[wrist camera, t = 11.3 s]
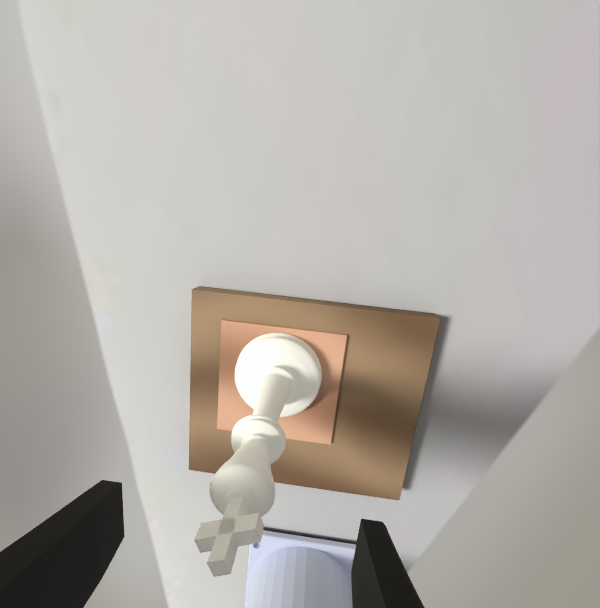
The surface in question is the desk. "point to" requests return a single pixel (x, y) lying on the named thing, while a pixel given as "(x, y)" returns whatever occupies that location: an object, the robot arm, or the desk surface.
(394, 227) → the desk surface
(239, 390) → the chess piece
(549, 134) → the desk surface
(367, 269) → the desk surface
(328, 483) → the walnut board
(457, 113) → the desk surface
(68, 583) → the robot arm
